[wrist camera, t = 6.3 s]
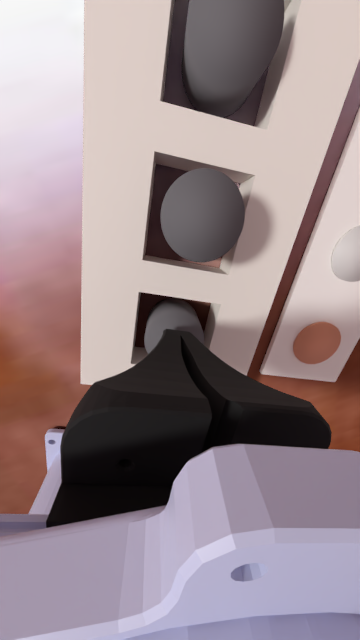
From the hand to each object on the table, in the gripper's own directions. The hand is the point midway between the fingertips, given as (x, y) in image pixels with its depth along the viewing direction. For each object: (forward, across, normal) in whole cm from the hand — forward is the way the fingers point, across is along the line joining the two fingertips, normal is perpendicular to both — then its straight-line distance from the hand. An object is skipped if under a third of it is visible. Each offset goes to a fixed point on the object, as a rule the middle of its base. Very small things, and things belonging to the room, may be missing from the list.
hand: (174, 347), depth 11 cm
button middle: (+2, 0, -6) cm, 6 cm away
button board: (+3, 0, -6) cm, 7 cm away
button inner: (+3, 0, 0) cm, 3 cm away
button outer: (+3, 0, -12) cm, 12 cm away
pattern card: (+3, -10, -6) cm, 12 cm away
